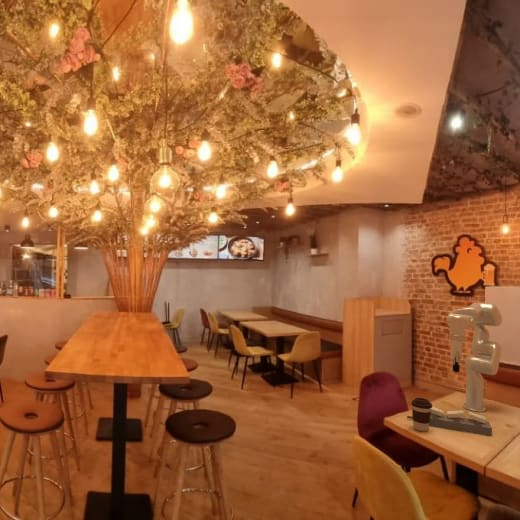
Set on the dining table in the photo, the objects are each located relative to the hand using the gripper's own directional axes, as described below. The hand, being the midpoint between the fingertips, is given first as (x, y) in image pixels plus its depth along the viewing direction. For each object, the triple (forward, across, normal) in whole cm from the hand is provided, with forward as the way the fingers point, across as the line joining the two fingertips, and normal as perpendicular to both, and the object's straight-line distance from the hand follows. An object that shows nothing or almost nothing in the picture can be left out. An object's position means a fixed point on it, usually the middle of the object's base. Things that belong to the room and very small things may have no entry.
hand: (455, 371), depth 225 cm
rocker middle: (+21, +8, 0) cm, 22 cm away
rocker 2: (+21, +8, +10) cm, 24 cm away
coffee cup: (+27, +22, -17) cm, 39 cm away
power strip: (+27, +10, -4) cm, 29 cm away
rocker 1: (+21, +8, -10) cm, 24 cm away
